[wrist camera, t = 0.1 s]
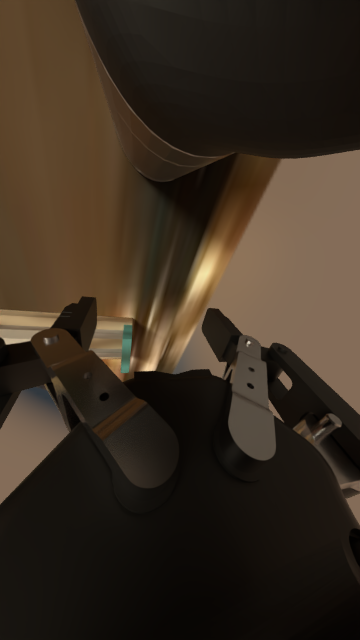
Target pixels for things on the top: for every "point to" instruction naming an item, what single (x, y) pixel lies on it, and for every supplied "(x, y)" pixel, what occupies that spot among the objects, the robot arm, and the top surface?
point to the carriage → (16, 335)
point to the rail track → (107, 339)
